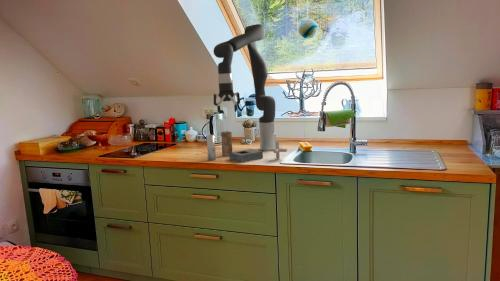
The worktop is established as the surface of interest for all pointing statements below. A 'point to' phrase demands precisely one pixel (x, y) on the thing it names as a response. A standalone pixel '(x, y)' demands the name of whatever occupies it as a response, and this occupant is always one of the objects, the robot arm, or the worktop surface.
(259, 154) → the socket block
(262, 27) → the robot arm
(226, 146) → the square walnut bit
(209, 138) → the round metal bit
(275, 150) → the pipe connector
